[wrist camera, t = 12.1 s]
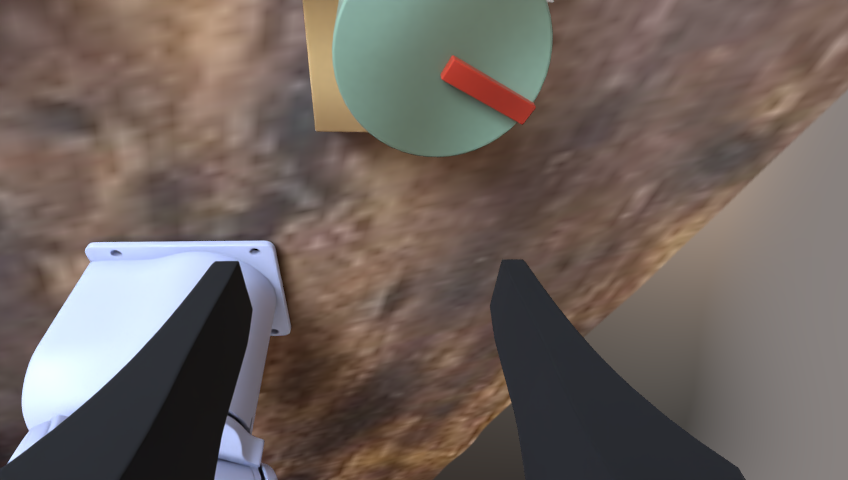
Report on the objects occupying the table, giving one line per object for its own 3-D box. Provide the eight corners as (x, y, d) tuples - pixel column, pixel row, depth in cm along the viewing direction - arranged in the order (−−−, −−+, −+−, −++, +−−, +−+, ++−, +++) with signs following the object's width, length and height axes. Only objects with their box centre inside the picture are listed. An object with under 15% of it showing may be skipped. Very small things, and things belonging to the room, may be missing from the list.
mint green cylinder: (318, 20, 16) (296, 110, 11) (389, -148, 13) (402, -129, 8) (443, 89, 18) (472, 191, 13) (527, -43, 15) (605, 23, 10)
